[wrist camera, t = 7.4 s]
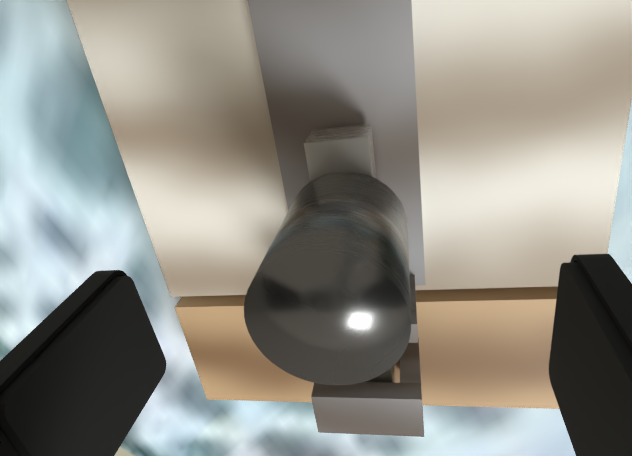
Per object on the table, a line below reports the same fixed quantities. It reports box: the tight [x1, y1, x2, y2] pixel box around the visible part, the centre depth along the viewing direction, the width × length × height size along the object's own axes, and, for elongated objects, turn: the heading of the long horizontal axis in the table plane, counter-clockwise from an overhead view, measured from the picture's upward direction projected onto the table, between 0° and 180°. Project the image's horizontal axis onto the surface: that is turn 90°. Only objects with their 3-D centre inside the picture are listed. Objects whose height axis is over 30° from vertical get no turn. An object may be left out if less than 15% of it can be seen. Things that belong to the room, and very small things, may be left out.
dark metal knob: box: [244, 124, 411, 385], centre depth 15 cm, size 13×4×7 cm, turn 9°
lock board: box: [66, 0, 632, 437], centre depth 17 cm, size 22×18×6 cm
